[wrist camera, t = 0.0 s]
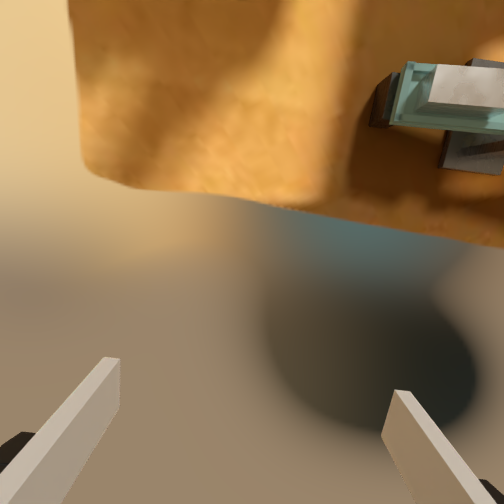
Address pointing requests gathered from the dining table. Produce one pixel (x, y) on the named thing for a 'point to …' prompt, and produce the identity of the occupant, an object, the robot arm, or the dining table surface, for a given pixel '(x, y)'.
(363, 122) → the dining table surface
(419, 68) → the beam
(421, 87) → the block
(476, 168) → the stand
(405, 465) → the robot arm
